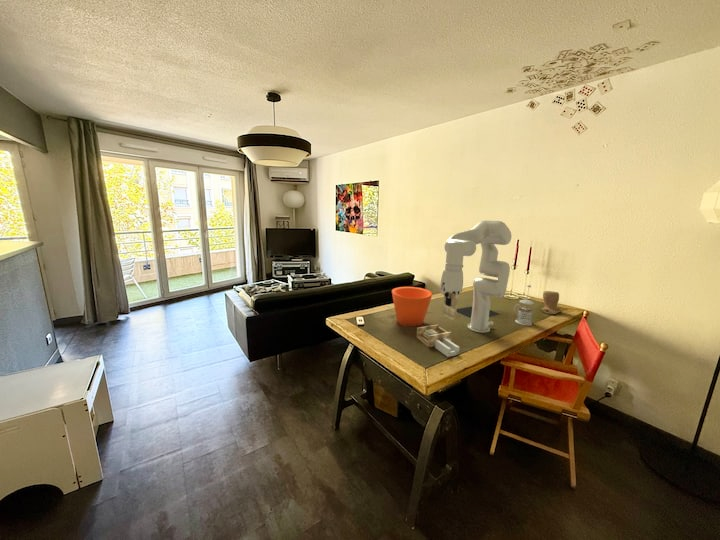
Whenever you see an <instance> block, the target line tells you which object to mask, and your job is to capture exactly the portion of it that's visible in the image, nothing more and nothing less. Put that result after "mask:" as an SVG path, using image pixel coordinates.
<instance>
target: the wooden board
mask: <svg viewBox="0 0 720 540" xmlns="http://www.w3.org/2000/svg"><path fill="white" fill-rule="evenodd" d="M458 297H459V294H458V295H457V294H454V293H452V292H451V297H450V298H451V306H447V305H445V301H446V297H445V296H443V306H442V307H443V310H442V316H444V317H446V318H449V320H451V321H453V320H456V319H457V313H456V312H457V309H458V301H459V299H458Z"/></svg>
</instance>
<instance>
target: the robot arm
mask: <svg viewBox="0 0 720 540" xmlns="http://www.w3.org/2000/svg"><path fill="white" fill-rule="evenodd" d="M511 240H512V232H511V230H510V228H509V227H508V226H507V224H506V223H505V222H504V221H501V220H481V221H479V222H477V223H476V224H475V225H474V226H473V227H471V229H467V230H464V231H459V232H458V233H455V234H453V235H451V236H450V237H449V238H448V239H447V240H446V241H445V244H444V251H445V253H446V254H445V255H446V256H445V266H444V267H445V268H444V270H443V272H442V273H441V274H442V275H441V280H440V283H439V284H440V286H439V290H440V291H439V293H440V294H442V295H444V296H445V297H446V301H445V305H447V306H451V298H450V297H451V292H452V293H454V294H457V295H458V296H459V295H460V294H461V293H462V292H463V287H464V271H463V268H464V257H471V256H473V255H474V254H475V253H476V251H477V245H479V244H480V247H481V256H480V261H479V266H478V267H479V268H478V273H479V274H480V275H483V276H487V277H482V276H481V277H476V278H475V279H474V280H473V282H472V290H473V292H472V293H473V297H472V298H473V299H472V306H471V307H472V315H471V319H470V323H467V328H468V329H469V330H470V331H472V332H476V333H481V334H484V333H485V334H486V333H489V332H491V328H490V326H492V325H494V322H493V321H492V320H491V321H489V318H490V317H489V311H490V310H491V299H490V297H495V298H503V297H504V296H505V295H506V292H507V289H508V282H509V277H510V271H511V267H510V264H509V262H506V261H503V260H498V255H499V250H498V248H497V246H496V245H499V246H500V245H501V246H505V245H508V244H510V242H511ZM488 277H492V278H488ZM493 278H497V279H493ZM444 296H443V297H444Z"/></svg>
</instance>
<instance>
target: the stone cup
mask: <svg viewBox="0 0 720 540" xmlns="http://www.w3.org/2000/svg"><path fill="white" fill-rule="evenodd" d="M542 299H543V303H544V307H542V308H541V309H540V311H542V312H543V313H545V314H548V315H555V314H558V313H561V312H562V309H561V308H558V306H557V305H558V303H559V301H560V293H559V292H558V291H552V290H548V291H547V290H545V291H543V293H542Z"/></svg>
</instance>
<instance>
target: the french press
mask: <svg viewBox="0 0 720 540" xmlns="http://www.w3.org/2000/svg"><path fill="white" fill-rule="evenodd" d="M526 287H527V288H528V289H527V292H529V290H530V288H532V286H531V284H528V285H527V286H526ZM528 296H529V294H527V296H526V299H521V300H519V302H518V303H516V304H515V305H514V307H513V308H514V309H516V308H517V306H519V308H518V309H517V310H518V311H517V312H516V310H513V312H514V314H516V319H515V320H514V322H515V323H517V324H518V325H521V326H522V325H523V326H533V323H532V318H533V317H532V316H533V308H531V307H529V306H531V305H534V304H535V303H534V302H533V301H532V300H530V299H528ZM521 304H523V306H522V305H521ZM525 305H526V306H525ZM528 305H529V306H528Z"/></svg>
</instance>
